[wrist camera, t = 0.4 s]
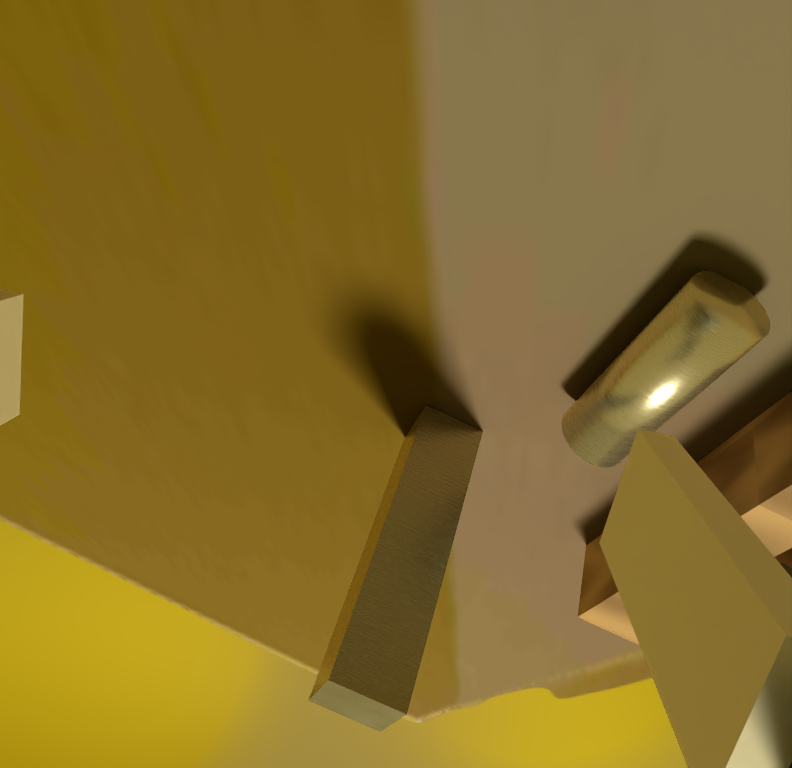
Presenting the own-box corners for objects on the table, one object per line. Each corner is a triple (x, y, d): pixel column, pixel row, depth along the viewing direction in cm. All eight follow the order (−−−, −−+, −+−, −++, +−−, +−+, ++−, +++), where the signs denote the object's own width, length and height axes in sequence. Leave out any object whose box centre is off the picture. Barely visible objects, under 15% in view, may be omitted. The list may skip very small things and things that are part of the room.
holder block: (835, 358, 29) (853, 446, 26) (1071, 475, 30) (1117, 575, 27) (586, 545, 44) (577, 616, 41) (747, 620, 45) (752, 696, 42)
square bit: (426, 404, 39) (328, 680, 29) (482, 431, 39) (406, 714, 29) (405, 437, 42) (308, 700, 31) (457, 462, 42) (380, 731, 32)
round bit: (691, 257, 28) (690, 312, 26) (766, 296, 29) (773, 354, 26) (566, 395, 36) (557, 447, 33) (627, 425, 36) (622, 478, 34)
